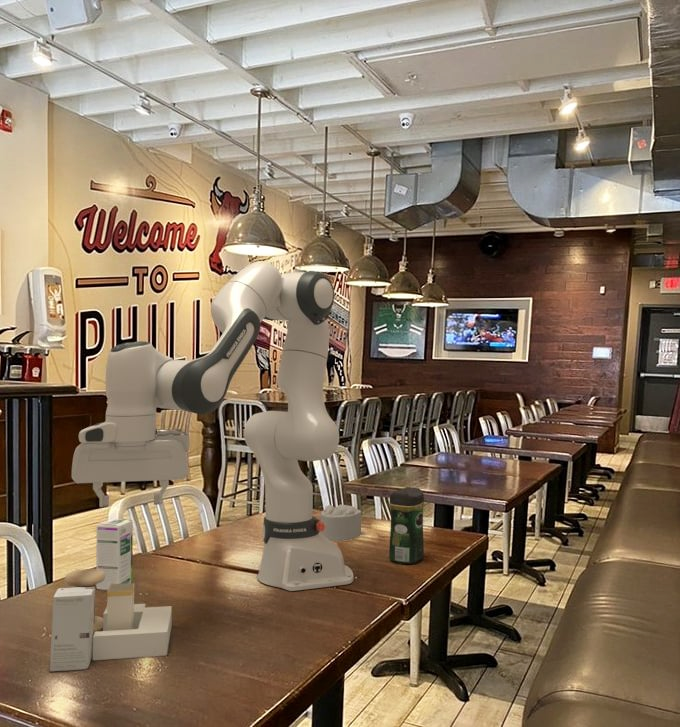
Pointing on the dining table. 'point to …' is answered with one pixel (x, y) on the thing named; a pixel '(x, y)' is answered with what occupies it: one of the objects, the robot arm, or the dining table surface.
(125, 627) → the gold trimmed white carton
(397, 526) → the coffee jar
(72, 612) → the skincare box
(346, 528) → the lumpy-topped squat cylinder
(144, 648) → the notched board
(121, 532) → the syrup box
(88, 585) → the spool
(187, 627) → the dining table surface
